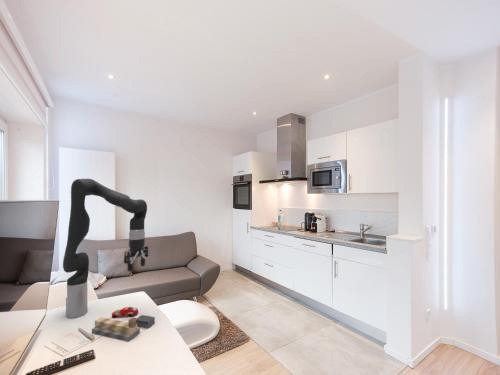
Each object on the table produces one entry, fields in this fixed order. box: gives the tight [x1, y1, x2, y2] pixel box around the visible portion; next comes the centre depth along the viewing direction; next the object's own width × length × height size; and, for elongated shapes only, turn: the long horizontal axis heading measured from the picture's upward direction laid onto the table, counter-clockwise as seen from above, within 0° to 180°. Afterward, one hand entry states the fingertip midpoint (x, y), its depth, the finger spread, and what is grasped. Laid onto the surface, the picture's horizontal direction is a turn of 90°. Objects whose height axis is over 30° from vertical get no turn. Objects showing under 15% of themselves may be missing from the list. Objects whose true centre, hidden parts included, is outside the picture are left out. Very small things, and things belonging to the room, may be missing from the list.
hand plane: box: [91, 317, 141, 342], centre depth 116 cm, size 23×7×8 cm, turn 72°
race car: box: [111, 306, 139, 319], centre depth 132 cm, size 13×5×4 cm, turn 95°
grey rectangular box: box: [135, 314, 156, 330], centre depth 123 cm, size 8×5×4 cm, turn 73°
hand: (136, 268), depth 128 cm, fingers open, 8 cm apart
